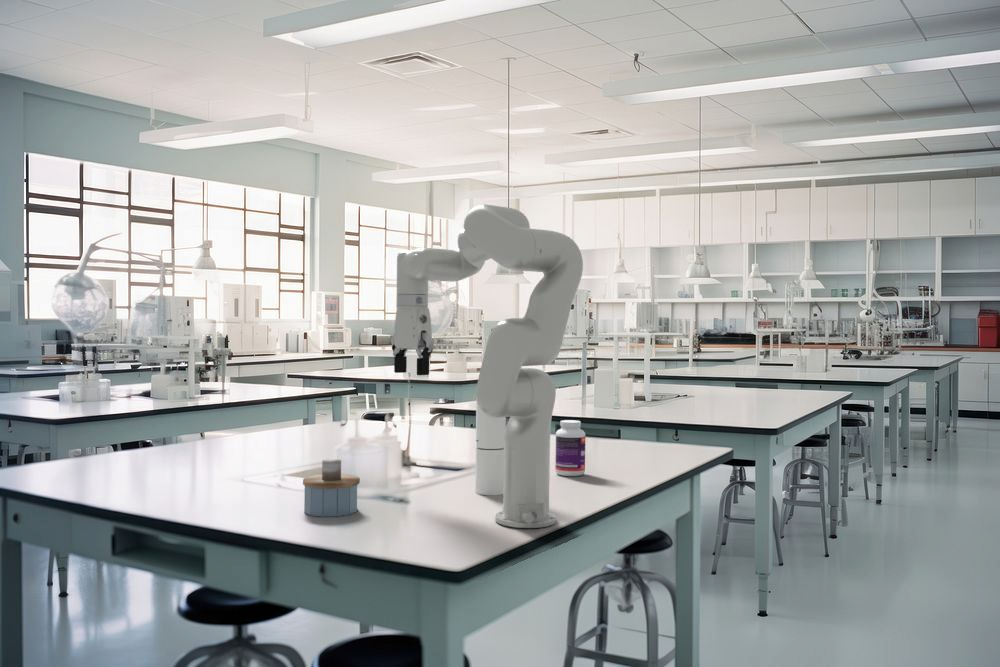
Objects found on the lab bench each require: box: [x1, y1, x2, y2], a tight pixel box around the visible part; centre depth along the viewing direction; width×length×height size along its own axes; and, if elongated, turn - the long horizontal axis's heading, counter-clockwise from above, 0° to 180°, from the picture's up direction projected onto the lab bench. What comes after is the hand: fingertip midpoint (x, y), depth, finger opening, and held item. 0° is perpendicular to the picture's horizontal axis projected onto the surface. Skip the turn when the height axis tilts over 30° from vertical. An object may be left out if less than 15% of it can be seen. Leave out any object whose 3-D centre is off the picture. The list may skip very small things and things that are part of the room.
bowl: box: [303, 485, 358, 518], centre depth 177 cm, size 11×11×6 cm
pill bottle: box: [554, 419, 586, 477], centre depth 222 cm, size 8×8×14 cm
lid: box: [302, 458, 361, 489], centre depth 177 cm, size 12×12×5 cm
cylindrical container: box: [474, 387, 507, 496], centre depth 198 cm, size 7×7×25 cm
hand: (411, 373), depth 197 cm, fingers open, 9 cm apart
